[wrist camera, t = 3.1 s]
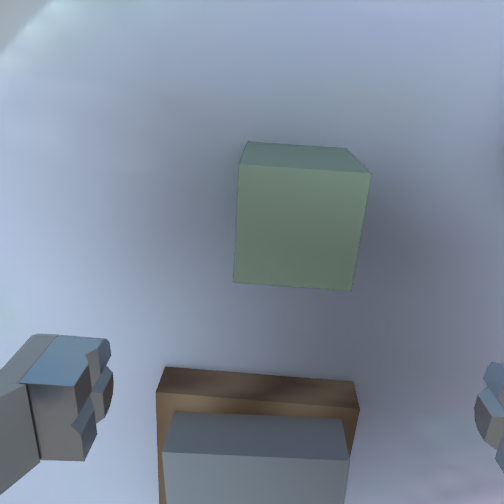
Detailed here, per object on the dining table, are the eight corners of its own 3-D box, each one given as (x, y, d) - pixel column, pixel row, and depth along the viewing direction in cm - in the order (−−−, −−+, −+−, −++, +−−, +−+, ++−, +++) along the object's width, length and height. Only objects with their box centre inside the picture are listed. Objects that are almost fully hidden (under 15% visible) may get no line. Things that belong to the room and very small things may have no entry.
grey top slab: (341, 418, 25) (349, 461, 22) (327, 531, 29) (333, 579, 26) (173, 411, 25) (161, 452, 23) (182, 524, 29) (172, 570, 27)
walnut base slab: (351, 375, 28) (359, 408, 25) (327, 503, 32) (332, 543, 29) (167, 360, 28) (155, 392, 25) (169, 489, 32) (160, 528, 30)
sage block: (346, 148, 21) (371, 173, 16) (332, 240, 23) (351, 291, 18) (247, 141, 22) (238, 164, 16) (242, 233, 23) (233, 282, 18)
